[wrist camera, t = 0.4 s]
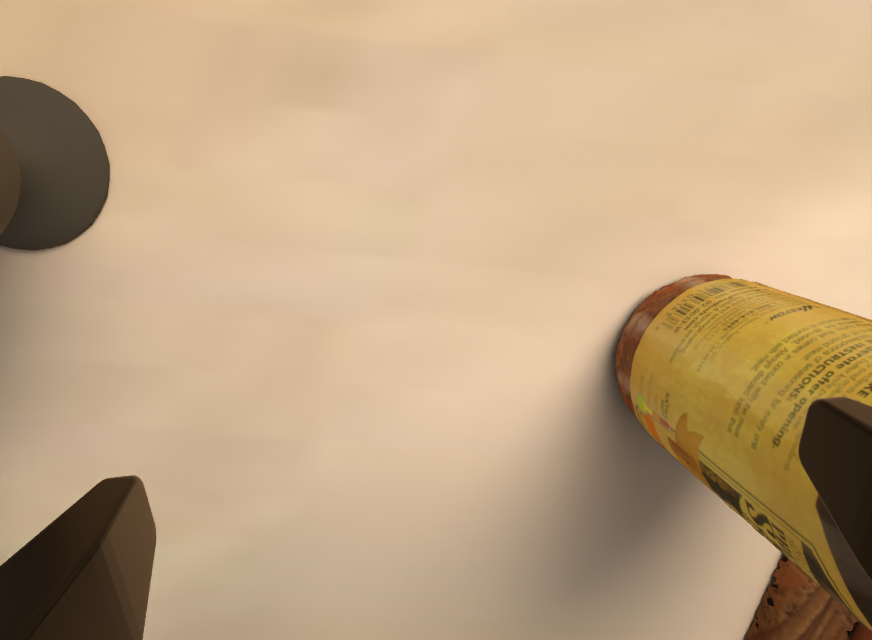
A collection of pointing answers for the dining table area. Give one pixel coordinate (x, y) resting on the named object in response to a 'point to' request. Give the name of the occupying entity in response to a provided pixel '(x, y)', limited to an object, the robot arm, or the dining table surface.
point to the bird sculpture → (802, 611)
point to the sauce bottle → (751, 406)
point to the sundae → (47, 166)
